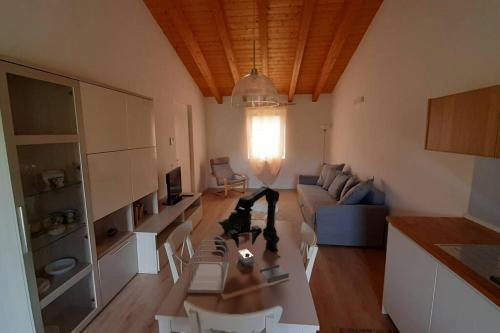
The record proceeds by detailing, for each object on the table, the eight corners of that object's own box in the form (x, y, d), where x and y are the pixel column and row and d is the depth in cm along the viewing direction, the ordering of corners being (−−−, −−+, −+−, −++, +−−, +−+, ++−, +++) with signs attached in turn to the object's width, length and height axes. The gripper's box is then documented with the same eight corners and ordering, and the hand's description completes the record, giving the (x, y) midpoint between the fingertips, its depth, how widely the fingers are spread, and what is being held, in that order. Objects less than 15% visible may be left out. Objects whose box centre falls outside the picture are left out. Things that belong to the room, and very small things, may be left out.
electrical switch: (229, 252, 155) (228, 238, 153) (223, 255, 152) (221, 242, 150) (220, 247, 162) (219, 234, 160) (214, 250, 159) (212, 237, 157)
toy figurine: (249, 231, 190) (217, 230, 187) (251, 208, 187) (219, 206, 184) (250, 237, 181) (216, 235, 178) (252, 212, 178) (218, 210, 175)
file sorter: (223, 294, 116) (223, 263, 114) (187, 293, 116) (186, 263, 114) (229, 265, 141) (228, 239, 138) (199, 264, 141) (198, 239, 139)
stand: (251, 259, 147) (251, 256, 147) (258, 267, 138) (258, 265, 138) (232, 263, 142) (232, 261, 142) (239, 272, 133) (239, 270, 133)
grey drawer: (246, 258, 145) (246, 247, 144) (253, 265, 137) (253, 254, 136) (238, 260, 143) (238, 249, 142) (244, 268, 135) (244, 256, 134)
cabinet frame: (278, 267, 138) (278, 263, 137) (288, 277, 129) (288, 273, 128) (259, 273, 133) (259, 268, 132) (268, 283, 124) (269, 278, 123)
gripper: (253, 213, 147) (253, 237, 150) (224, 217, 139) (225, 243, 142) (262, 219, 137) (262, 245, 140) (231, 224, 129) (231, 252, 132)
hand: (245, 246), depth 138 cm, fingers open, 9 cm apart
